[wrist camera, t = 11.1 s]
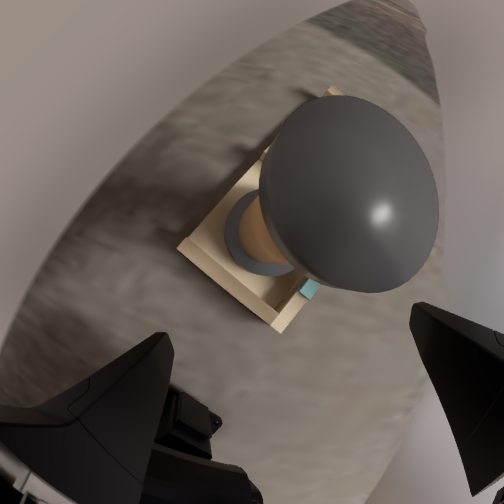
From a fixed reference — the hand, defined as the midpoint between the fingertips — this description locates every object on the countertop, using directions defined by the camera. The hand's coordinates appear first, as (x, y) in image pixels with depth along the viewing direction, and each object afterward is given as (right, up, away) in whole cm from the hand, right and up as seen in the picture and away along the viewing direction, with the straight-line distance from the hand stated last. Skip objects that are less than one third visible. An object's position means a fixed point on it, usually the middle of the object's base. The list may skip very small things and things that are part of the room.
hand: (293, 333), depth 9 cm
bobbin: (0, +4, +11) cm, 12 cm away
